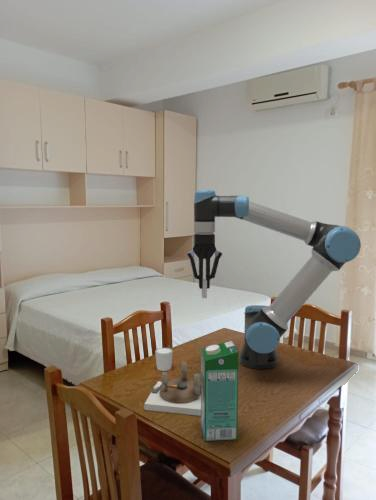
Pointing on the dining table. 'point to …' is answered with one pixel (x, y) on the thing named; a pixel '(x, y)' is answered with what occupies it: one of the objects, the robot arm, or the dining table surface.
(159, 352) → the white tapered cup
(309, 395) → the dining table surface
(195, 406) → the stand
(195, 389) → the cam capstan
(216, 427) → the milk carton
